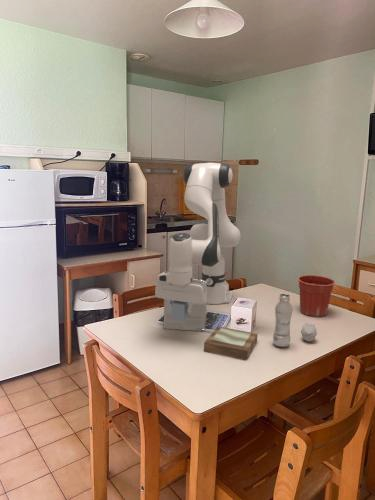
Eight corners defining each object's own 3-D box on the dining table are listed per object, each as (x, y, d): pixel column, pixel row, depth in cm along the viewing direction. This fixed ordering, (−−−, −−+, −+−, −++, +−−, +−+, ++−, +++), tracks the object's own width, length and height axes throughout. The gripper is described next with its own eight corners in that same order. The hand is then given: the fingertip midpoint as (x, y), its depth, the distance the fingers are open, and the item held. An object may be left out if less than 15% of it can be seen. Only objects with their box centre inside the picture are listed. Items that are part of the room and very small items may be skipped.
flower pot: (327, 322, 168) (331, 287, 165) (290, 314, 176) (293, 281, 173) (334, 311, 182) (338, 278, 178) (300, 304, 190) (303, 273, 187)
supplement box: (206, 319, 168) (207, 280, 164) (204, 331, 155) (205, 289, 151) (167, 317, 170) (168, 278, 166) (163, 329, 157) (163, 287, 153)
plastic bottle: (268, 344, 144) (271, 294, 140) (279, 340, 149) (283, 291, 145) (282, 351, 139) (286, 299, 135) (293, 346, 144) (297, 295, 140)
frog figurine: (316, 338, 151) (318, 322, 149) (315, 345, 144) (317, 328, 143) (301, 335, 153) (302, 319, 152) (299, 342, 147) (300, 325, 145)
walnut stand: (217, 334, 153) (218, 325, 152) (257, 342, 147) (257, 332, 146) (203, 351, 138) (204, 340, 137) (246, 360, 132) (247, 349, 131)
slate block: (177, 313, 149) (177, 299, 148) (188, 315, 147) (189, 301, 146) (171, 318, 144) (171, 303, 143) (183, 320, 143) (183, 305, 141)
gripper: (209, 278, 141) (208, 313, 144) (160, 271, 149) (160, 304, 152) (203, 282, 136) (202, 318, 139) (153, 275, 143) (153, 310, 146)
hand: (180, 311), depth 145 cm, fingers closed on slate block, 5 cm apart
